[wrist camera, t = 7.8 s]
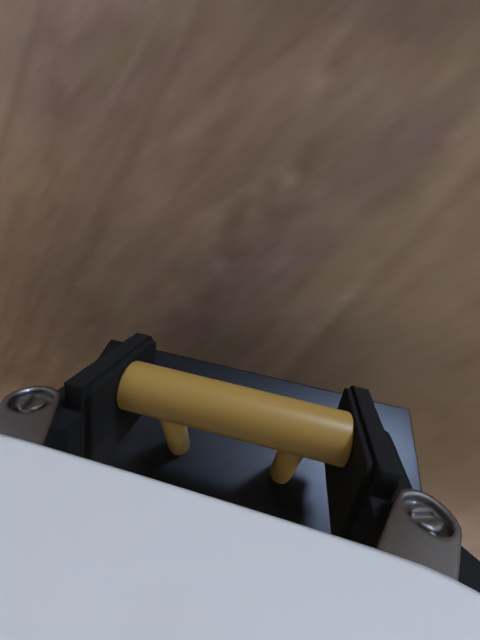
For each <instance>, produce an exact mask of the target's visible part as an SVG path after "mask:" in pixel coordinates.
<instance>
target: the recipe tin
mask: <svg viewBox="0 0 480 640" xmlns="http://www.w3.org/2000/svg"><path fill="white" fill-rule="evenodd" d="M121 343H123V342H120V341H115V340H110V342H109V343H108V345H107V346H106V348H105V349H104V351H103V352H102V353H101V355H100V356H99V358H101V357H102V356H104V355H105V354H107V353H108V352H110V351H111V350H113V349H114V348H115V347H117V346H118V345H120V344H121ZM99 358H98V359H99ZM98 359H97V360H98ZM341 397H342V394H341V393H336V392H332V391H328V390H324V389H319V388H315V387H311V386H307V385H302V384H298V383H294V382H290V381H285V380H281V379H277V378H273V377H268V376H264V375H260V374H256V373H251V372H247V371H243V370H239V369H234V368H230V367H226V366H222V365H217V364H213V363H209V362H205V361H200V360H196V359H192V358H188V357H183V356H179V355H175V354H171V353H166V352H162V351H158V350H156V353H155V365H154V364H150V363H146V362H141V361H134V362H132V363H131V364H130V365H129V366H128V367H127V368H126V370H125V371H124V373H123V375H122V377H121V380H120V382H119V386H118V390H117V405H118V407H119V408H120V409H123V410H126V411H130V412H134V413H138V414H142V415H141V417H140V418H139V419H138V420H137V422H136V423H135V424H134V425H133V426H132V428H131V429H130V430H129V431H128V433H127V434H126V435H125V436H124V437H123V439H122V440H121V441H120V442H119V444H118V445H117V446H116V447H115V449H114V450H113V451H112V452H111V453H110V455H109V456H108V457H107V458H106V460H105V461H104V462H103V463H102V464H106V465H109V466H112V467H115V468H119V469H122V470H125V471H129V472H132V473H135V474H139V475H142V476H145V477H149V478H152V479H155V480H158V481H162V482H165V483H168V484H171V485H175V486H178V487H181V488H184V489H188V490H191V491H194V492H197V493H201V494H204V495H207V496H210V497H214V498H217V499H220V500H223V501H226V502H230V503H233V504H236V505H239V506H243V507H246V508H249V509H252V510H255V511H259V512H262V513H265V514H268V515H271V516H274V517H278V518H281V519H284V520H287V521H290V522H293V523H297V524H300V525H303V526H306V527H309V528H313V529H316V530H319V531H322V532H325V533H328V534H331V528H330V518H329V507H328V497H327V487H326V476H325V466H324V463H327V464H330V465H334V466H338V467H344V466H345V465H346V464H347V462H348V460H349V457H350V454H351V451H352V446H353V438H354V423H353V417H352V415H351V413H350V412H348V411H344V410H340V409H337V408H338V405H339V402H340V399H341ZM373 402H374V405H375V407H376V410H377V412H378V415H379V418H380V420H381V423H382V425H383V428H384V430H385V431H387V432H389V434H390V435H391V438H392V440H393V442H394V445H395V447H396V450H397V452H398V454H399V457H400V459H401V462H402V464H403V466H404V469H405V471H406V474H407V476H408V478H409V481H410V483H411V486H412V488H413V489H416V490H419V491H422V488H421V482H420V475H419V469H418V463H417V456H416V450H415V444H414V437H413V431H412V424H411V418H410V412H409V410H408V409H404V408H400V407H396V406H392V405H387V404H383V403H379V402H375V401H373Z"/></svg>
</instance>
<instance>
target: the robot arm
mask: <svg viewBox="0 0 480 640" xmlns="http://www.w3.org/2000/svg"><path fill="white" fill-rule="evenodd" d="M155 353H156V341H154V340H153V338H152V336H148V335H144V334H140V333H136V334H134V335H133V336H132V337H130V338H129V339H127V340H126V341H124V342H123V343H121V344H120V345H118V346H117V347H115V348H114V349H113V350H111V351H110V352H108V353H107V354H105V355H104V356H102V357H101V358H99V359H98V360H96V361H95V362H94V363H92V364H91V365H89V366H88V367H86V368H85V369H83V370H82V371H80V372H79V373H78V374H76V375H75V376H73V377H72V378H70V379H69V380H67V381H66V382H64V386H63V387H62V388H60V389H59V390H56V389H54V388H52V387H48V386H30V387H26V388H22V389H19V390H16V391H14V392H12V393H10V394H9V395H7V396H6V397H5V398H4V399H3V400H2V401H1V403H0V640H480V561H478V560H477V559H476V558H475V557H474V556H473V555H471V554H470V553H469V552H468V551H467V550H466V549H464V548H463V547H462V546H461V543H462V532H461V527H460V525H459V523H458V521H457V519H456V518H455V517H454V515H453V514H452V513H451V512H450V510H448V509H447V508H446V507H445V506H444V505H443V504H442V503H441V502H439V501H438V500H437V499H435V498H434V497H432V496H430V495H428V494H426V493H424V492H422V491H419V490H416V489H413V488H412V486H411V483H410V481H409V478H408V476H407V474H406V471H405V469H404V466H403V464H402V462H401V459H400V457H399V454H398V452H397V450H396V447H395V445H394V442H393V440H392V438H391V435H390V434H389V432H387V431H385V430H384V428H383V425H382V423H381V420H380V418H379V415H378V412H377V410H376V407H375V405H374V402H373V400H372V397H371V395H370V392H369V390H368V389H364V388H360V387H356V386H351V387H350V389H348V388H345V389H344V391H343V394H342V397H341V399H340V402H339V405H338V408H337V409H340V410H344V411H348V412H350V413H351V415H352V417H353V423H354V438H353V446H352V451H351V454H350V457H349V460H348V462H347V464H346V465H345V466H344V467H338V466H334V465H330V464H327V463H324V466H325V476H326V487H327V497H328V507H329V518H330V528H331V534H328V533H325V532H322V531H319V530H316V529H313V528H309V527H306V526H303V525H300V524H297V523H293V522H290V521H287V520H284V519H281V518H278V517H274V516H271V515H268V514H265V513H262V512H259V511H255V510H252V509H249V508H246V507H243V506H239V505H236V504H233V503H230V502H226V501H223V500H220V499H217V498H214V497H210V496H207V495H204V494H201V493H197V492H194V491H191V490H188V489H184V488H181V487H178V486H175V485H171V484H168V483H165V482H162V481H158V480H155V479H152V478H149V477H145V476H142V475H139V474H135V473H132V472H129V471H125V470H122V469H119V468H115V467H112V466H109V465H106V464H102V463H103V462H104V461H105V460H106V458H107V457H108V456H109V455H110V453H111V452H112V451H113V450H114V449H115V447H116V446H117V445H118V444H119V442H120V441H121V440H122V439H123V437H124V436H125V435H126V434H127V433H128V431H129V430H130V429H131V428H132V426H133V425H134V424H135V423H136V422H137V420H138V419H139V418H140V417H141V415H142V414H138V413H134V412H130V411H126V410H123V409H120V408H119V407H118V405H117V390H118V386H119V382H120V380H121V377H122V375H123V373H124V371H125V370H126V368H127V367H128V366H129V365H130V364H131V363H132V362H134V361H141V362H146V363H150V364H154V365H155Z"/></svg>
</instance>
